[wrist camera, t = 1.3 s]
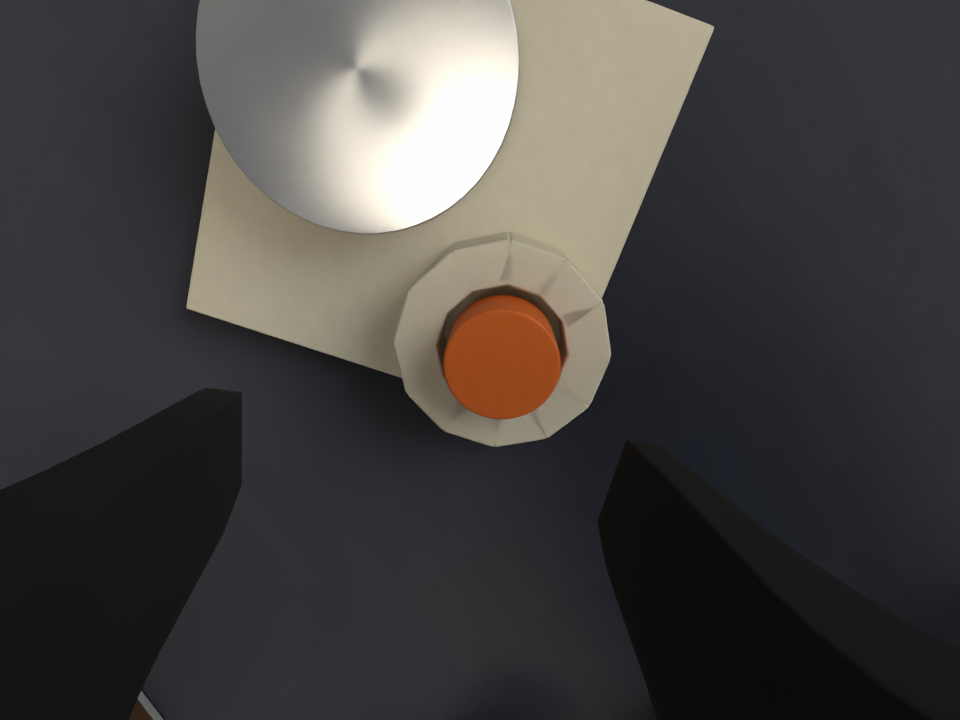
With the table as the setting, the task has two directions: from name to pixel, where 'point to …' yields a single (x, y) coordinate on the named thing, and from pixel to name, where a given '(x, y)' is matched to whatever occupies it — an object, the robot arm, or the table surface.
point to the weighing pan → (360, 102)
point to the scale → (477, 221)
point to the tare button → (501, 357)
